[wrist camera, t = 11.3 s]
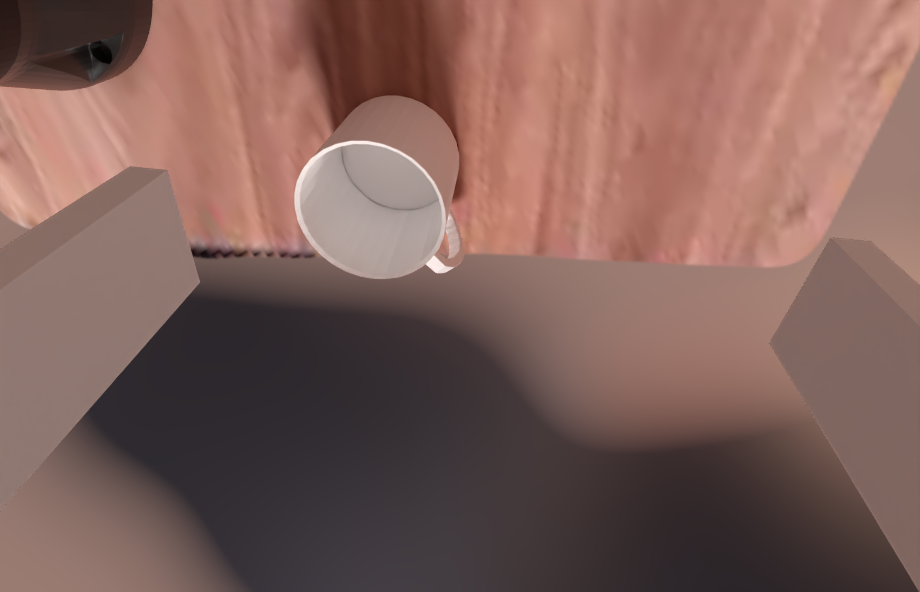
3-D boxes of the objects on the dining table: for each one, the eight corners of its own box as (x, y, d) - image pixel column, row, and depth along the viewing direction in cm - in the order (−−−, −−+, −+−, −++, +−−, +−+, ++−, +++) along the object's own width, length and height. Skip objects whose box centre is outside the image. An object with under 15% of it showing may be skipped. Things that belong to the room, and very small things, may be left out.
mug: (313, 131, 37) (262, 185, 29) (417, 68, 34) (390, 110, 26) (403, 257, 43) (379, 328, 35) (499, 213, 40) (495, 281, 32)
